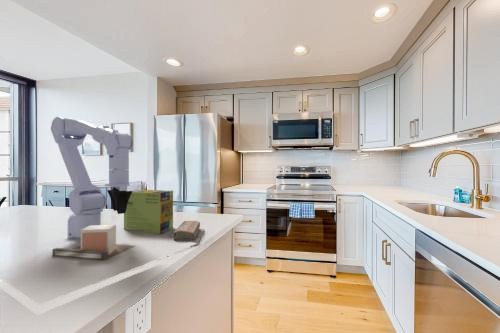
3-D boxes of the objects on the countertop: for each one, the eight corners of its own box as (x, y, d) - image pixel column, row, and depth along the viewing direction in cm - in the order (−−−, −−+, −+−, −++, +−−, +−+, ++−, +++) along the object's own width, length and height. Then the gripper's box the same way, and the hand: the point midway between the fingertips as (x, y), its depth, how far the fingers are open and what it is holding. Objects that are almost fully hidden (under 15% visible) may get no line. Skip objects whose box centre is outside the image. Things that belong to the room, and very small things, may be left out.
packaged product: (178, 219, 97) (204, 219, 98) (178, 232, 97) (204, 232, 98) (165, 231, 79) (197, 231, 80) (165, 246, 79) (197, 246, 80)
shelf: (51, 260, 66) (51, 249, 66) (89, 246, 78) (89, 236, 78) (104, 265, 63) (104, 253, 63) (135, 249, 75) (135, 239, 75)
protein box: (160, 234, 92) (160, 192, 92) (123, 232, 94) (123, 191, 94) (173, 227, 102) (174, 190, 102) (139, 226, 105) (140, 189, 105)
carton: (89, 249, 71) (89, 225, 71) (115, 248, 72) (116, 224, 72) (80, 256, 66) (80, 230, 66) (108, 255, 67) (108, 229, 67)
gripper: (101, 170, 84) (102, 210, 84) (108, 170, 72) (108, 216, 72) (124, 169, 88) (125, 208, 88) (134, 169, 76) (134, 213, 76)
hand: (119, 211), depth 80 cm, fingers open, 7 cm apart
